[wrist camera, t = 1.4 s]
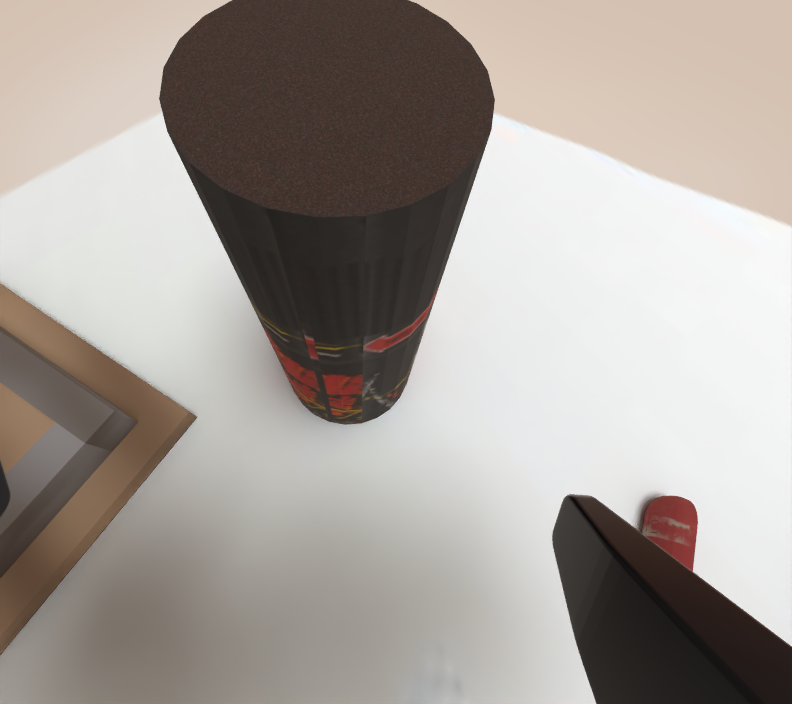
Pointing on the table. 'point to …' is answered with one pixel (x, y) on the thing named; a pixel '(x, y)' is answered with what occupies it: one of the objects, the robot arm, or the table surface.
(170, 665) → the table surface
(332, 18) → the deodorant
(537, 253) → the table surface
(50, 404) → the socket board
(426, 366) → the table surface
